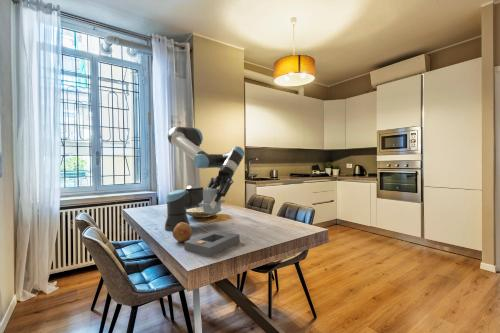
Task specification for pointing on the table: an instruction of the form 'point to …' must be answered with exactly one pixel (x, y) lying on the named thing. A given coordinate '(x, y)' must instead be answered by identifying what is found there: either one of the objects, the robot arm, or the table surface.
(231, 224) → the table surface
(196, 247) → the pocket block
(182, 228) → the onion
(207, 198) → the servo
